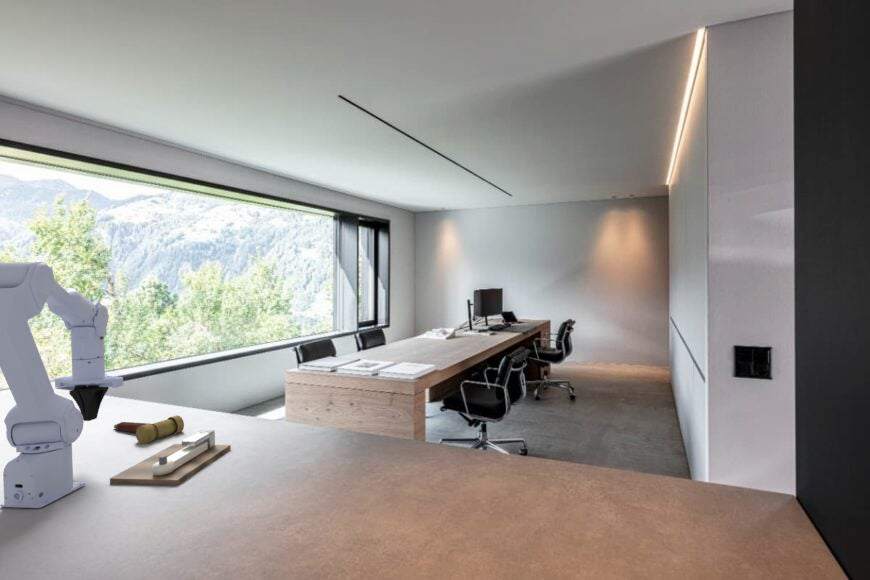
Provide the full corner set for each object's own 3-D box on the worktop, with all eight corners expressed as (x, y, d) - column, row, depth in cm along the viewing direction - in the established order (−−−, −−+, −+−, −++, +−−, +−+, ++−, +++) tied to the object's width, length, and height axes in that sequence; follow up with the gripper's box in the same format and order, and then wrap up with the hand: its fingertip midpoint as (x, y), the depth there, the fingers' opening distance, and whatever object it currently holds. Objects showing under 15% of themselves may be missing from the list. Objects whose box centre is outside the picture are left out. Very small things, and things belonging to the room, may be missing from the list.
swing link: (165, 476, 90) (165, 460, 90) (148, 476, 90) (148, 459, 90) (209, 449, 104) (208, 435, 104) (194, 449, 105) (193, 435, 104)
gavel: (94, 423, 120) (132, 412, 130) (95, 440, 120) (133, 429, 130) (146, 426, 112) (183, 415, 121) (148, 445, 112) (185, 432, 121)
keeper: (195, 457, 100) (194, 441, 100) (182, 457, 100) (181, 441, 100) (215, 445, 107) (214, 430, 107) (202, 445, 108) (202, 430, 107)
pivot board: (177, 485, 88) (177, 480, 88) (109, 483, 90) (109, 478, 90) (230, 449, 107) (230, 445, 107) (174, 448, 109) (174, 444, 109)
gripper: (132, 354, 104) (134, 414, 104) (74, 355, 105) (76, 413, 106) (107, 360, 97) (109, 424, 97) (45, 360, 98) (47, 423, 99)
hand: (90, 419), depth 101 cm, fingers closed
